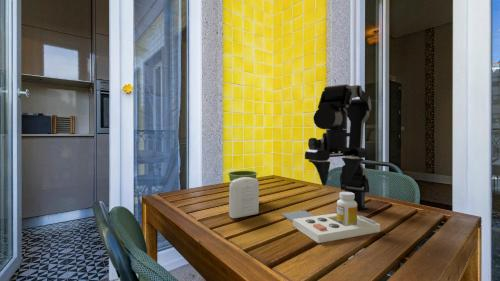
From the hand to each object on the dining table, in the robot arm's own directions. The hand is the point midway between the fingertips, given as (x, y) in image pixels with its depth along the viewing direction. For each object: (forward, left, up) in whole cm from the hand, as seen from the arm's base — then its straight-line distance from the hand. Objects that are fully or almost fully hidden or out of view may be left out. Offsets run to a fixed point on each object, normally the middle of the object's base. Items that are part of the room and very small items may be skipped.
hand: (336, 183), depth 72 cm
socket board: (+2, +2, -12) cm, 13 cm away
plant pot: (+17, -34, -12) cm, 40 cm away
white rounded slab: (+22, -18, -12) cm, 31 cm away
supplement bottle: (-2, +2, -12) cm, 13 cm away
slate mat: (+6, -9, -12) cm, 16 cm away
